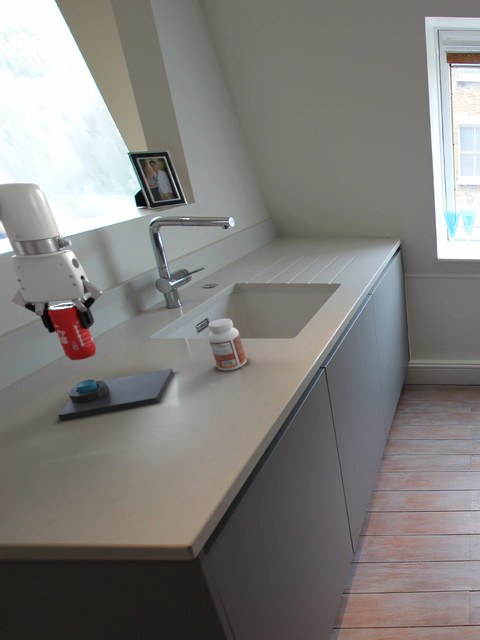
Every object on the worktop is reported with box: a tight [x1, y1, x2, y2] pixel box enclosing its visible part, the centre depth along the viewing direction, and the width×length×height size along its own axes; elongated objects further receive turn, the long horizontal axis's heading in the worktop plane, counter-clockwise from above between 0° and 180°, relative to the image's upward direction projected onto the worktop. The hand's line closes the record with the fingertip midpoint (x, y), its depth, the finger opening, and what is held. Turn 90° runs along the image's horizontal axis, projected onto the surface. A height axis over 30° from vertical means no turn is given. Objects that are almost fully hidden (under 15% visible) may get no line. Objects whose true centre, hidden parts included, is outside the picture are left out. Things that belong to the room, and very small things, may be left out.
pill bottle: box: [207, 318, 247, 371], centre depth 103 cm, size 6×6×11 cm
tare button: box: [75, 379, 98, 393], centre depth 91 cm, size 3×3×2 cm
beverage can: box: [48, 301, 97, 361], centre depth 97 cm, size 5×5×12 cm
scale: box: [58, 368, 175, 422], centre depth 93 cm, size 16×13×3 cm
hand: (71, 327), depth 97 cm, fingers closed on beverage can, 5 cm apart
